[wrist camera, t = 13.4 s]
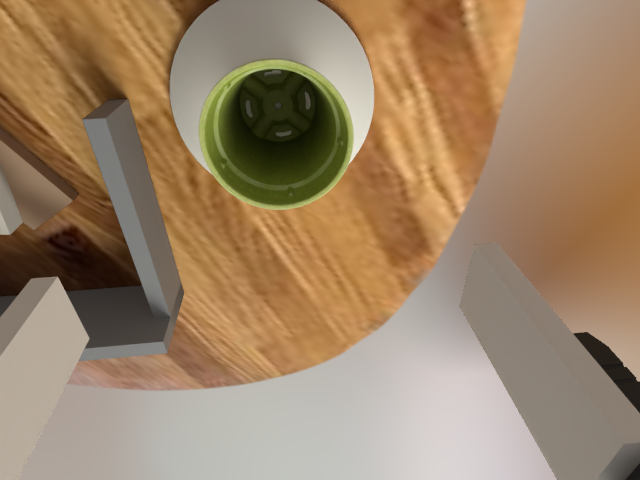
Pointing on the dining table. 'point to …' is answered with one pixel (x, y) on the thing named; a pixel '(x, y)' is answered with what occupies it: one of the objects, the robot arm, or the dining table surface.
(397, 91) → the dining table surface
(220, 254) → the dining table surface
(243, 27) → the mat
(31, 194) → the offcut bottom
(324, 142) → the plant pot
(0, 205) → the block
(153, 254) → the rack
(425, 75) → the dining table surface
